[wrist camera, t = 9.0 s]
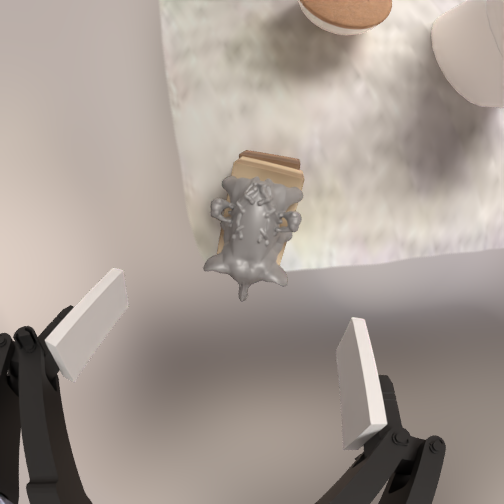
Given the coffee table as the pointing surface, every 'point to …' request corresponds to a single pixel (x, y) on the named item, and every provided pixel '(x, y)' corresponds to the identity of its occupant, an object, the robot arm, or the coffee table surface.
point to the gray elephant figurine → (254, 230)
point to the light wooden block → (264, 171)
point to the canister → (472, 50)
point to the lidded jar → (346, 14)
